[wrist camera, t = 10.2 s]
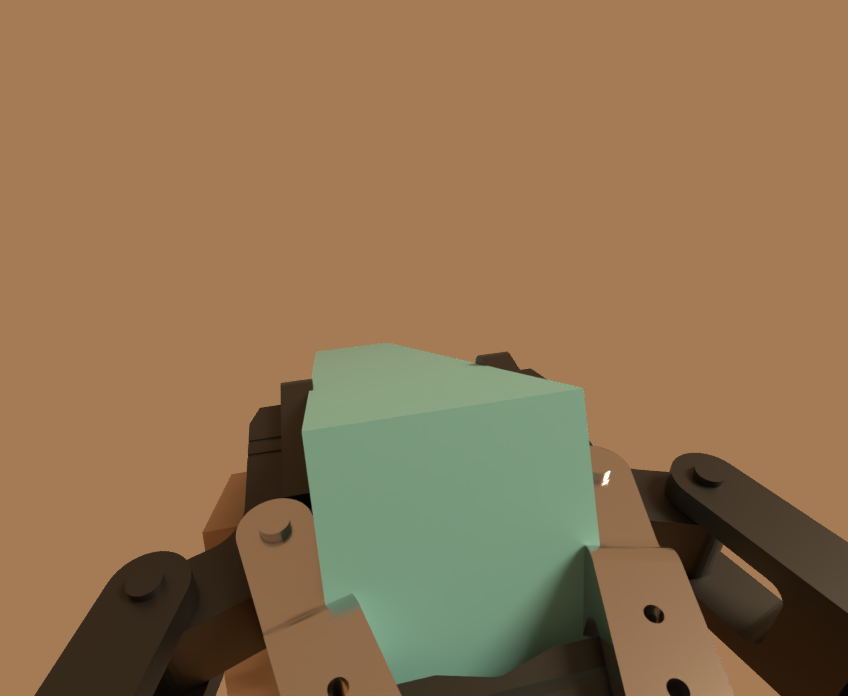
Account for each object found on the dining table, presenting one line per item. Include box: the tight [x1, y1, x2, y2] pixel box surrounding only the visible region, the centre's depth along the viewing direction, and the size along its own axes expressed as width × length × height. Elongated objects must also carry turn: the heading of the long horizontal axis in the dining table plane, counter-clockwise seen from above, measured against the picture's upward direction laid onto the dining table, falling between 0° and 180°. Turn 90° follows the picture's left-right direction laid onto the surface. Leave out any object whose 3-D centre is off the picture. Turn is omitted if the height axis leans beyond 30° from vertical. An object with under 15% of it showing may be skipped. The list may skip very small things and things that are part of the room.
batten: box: [302, 343, 600, 684], centre depth 20 cm, size 4×24×4 cm, turn 11°
